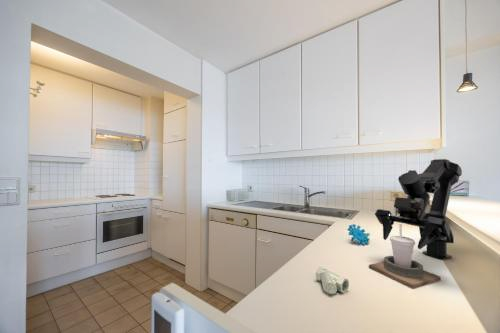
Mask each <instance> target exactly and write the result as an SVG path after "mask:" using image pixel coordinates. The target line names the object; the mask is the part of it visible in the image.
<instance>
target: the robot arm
mask: <svg viewBox="0 0 500 333" xmlns="http://www.w3.org/2000/svg"><path fill="white" fill-rule="evenodd" d="M462 174H463V170H462V168H461V166H460V165H459V164H458V163H455V162H452V161H450V160H449V159H446V158H443V159H441V158H439V159H438V158H436V159H431V160H430V164H429V165H428V166H427V167H426V168H425V169H424V171H423V172H422V173H418V172H417V170H415V169H414V170H411V169H410V170H408V172H404V173H403V174H401V175H400V176H398V179H397V181H398V182H399V184H400V186H401V189H402V191H403V193H404V194H405V195H407V197H398V196H397V197H395V198H394V204H393V207H394V208H396V213H397V214H398V215H394V214H392V212H391V210H387V209H382V208H378V209H377V210H375V213H374V215H375V217H376V219H377V221H378V222H379V224H380V225H381V226H382V235H383V236H382V239H383V240H384V241H386V240H387V239H388V238H389V237H390V234H391V231H392V230H393V228H394V227H393V225H394V223H399V224H400V223H401V224H406V225H409V226H414V227H418V229H419V235H420V238H419V241H418V243H417V248H418V249H419V250H421V249H422V248H424V247H426V250H423V251H422V252H421V253H422V254H424V255H427V256H430V257H433V258H436V259H439V260H447V259H450V258H452V255H449V254H447V251H448V249H447V245H448V244H455V241H454V240H455V239H454V234H453V231H452V229H451V226H450V224H449V222H448V220H447V218H446V215H447V211H448V205H449V202H450V201H449V200H450V196H451V195H450V194H451V190H452V187H453V186H454V185H455V184H456V183H459V180H460V177H461V176H462ZM430 194H433V196H432V201H430V199H431V196H430ZM430 202H431V203H430ZM430 204H431V205H430ZM428 205H430V209H429V211H428V212H427V213H426V211H427V207H428Z"/></svg>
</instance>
